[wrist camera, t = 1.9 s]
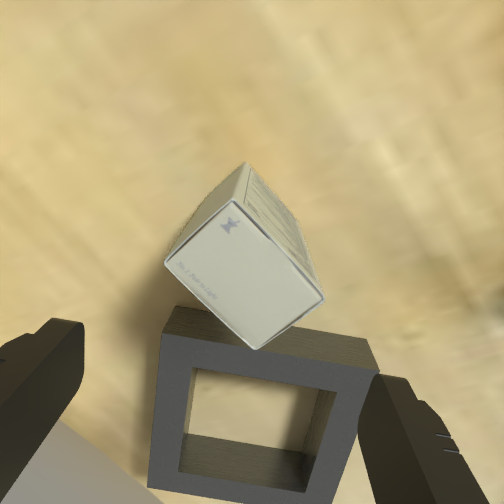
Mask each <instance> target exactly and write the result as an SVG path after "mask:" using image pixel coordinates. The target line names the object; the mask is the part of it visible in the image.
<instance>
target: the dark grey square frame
mask: <svg viewBox="0 0 504 504" xmlns="http://www.w3.org/2000/svg"><path fill="white" fill-rule="evenodd" d="M197 368H201V369H206V370H212V371H218V372H224V373H230V374H235V375H241V376H247V377H253V378H259V379H264V380H270V381H276V382H282V383H288V384H293V385H299V386H305V387H311V388H317V389H320V392H319V395H318V399H317V402H316V405H315V409H314V412H313V415H312V419H311V422H310V426H309V429H308V432H307V436H306V439H305V442H304V446H303V449H302V452H301V453H300V452H294V451H288V450H282V449H276V448H270V447H264V446H258V445H252V444H247V443H241V442H235V441H229V440H223V439H217V438H211V437H205V436H199V435H193V434H188V429H189V422H190V415H191V408H192V401H193V394H194V387H195V380H196V373H197ZM379 372H380V370H379V368H378V365H377V363H376V361H375V358H374V356H373V354H372V351H371V349H370V347H369V344H368V342H367V340H366V339H362V338H356V337H351V336H345V335H339V334H334V333H328V332H322V331H316V330H311V329H305V328H299V327H294V326H291V327H289V328H288V329H286V330H285V331H284V332H282V333H281V334H279V335H278V336H276V337H275V338H274V339H272V340H271V341H269V342H268V343H266V344H265V345H264V346H262V347H261V348H259V349H257V350H253V349H252V348H251V347H250V346H249V345H248V344H246V343H245V342H244V341H243V340H242V339H241V338H240V337H239V336H238V335H236V334H235V333H234V332H233V331H232V330H231V329H230V328H229V327H228V326H227V325H226V324H224V323H223V322H222V321H221V320H220V319H219V318H218V317H217V316H216V315H215V314H214V313H213V312H208V311H202V310H196V309H191V308H185V307H179V306H175V308H174V310H173V312H172V314H171V316H170V318H169V320H168V322H167V324H166V326H165V328H164V330H163V332H162V336H161V347H160V357H159V367H158V377H157V388H156V398H155V408H154V419H153V429H152V439H151V449H150V460H149V470H148V480H147V488H153V489H159V490H165V491H171V492H177V493H183V494H189V495H195V496H201V497H207V498H213V499H219V500H225V501H231V502H237V503H243V504H332V502H333V499H334V496H335V493H336V491H337V488H338V485H339V482H340V479H341V477H342V474H343V471H344V468H345V466H346V463H347V460H348V457H349V455H350V452H351V449H352V446H353V444H354V441H355V438H356V435H357V433H358V419H359V415H360V412H361V410H362V407H363V404H364V401H365V398H366V395H367V393H368V390H369V387H370V384H371V381H372V379H373V377H374V376H375V375H376V374H379Z"/></svg>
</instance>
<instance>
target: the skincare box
mask: <svg viewBox="0 0 504 504" xmlns="http://www.w3.org/2000/svg"><path fill="white" fill-rule="evenodd" d="M164 265H165V266H166V267H167V268H168V270H169V271H170V272H171V273H172V274H173V275H174V276H175V277H176V278H177V279H178V280H179V281H180V282H181V283H182V284H183V285H184V286H185V287H186V288H187V289H188V290H189V291H190V292H191V293H192V294H194V295H195V296H196V297H197V298H198V299H199V300H200V301H201V302H202V303H203V304H204V305H205V306H206V307H207V308H208V309H210V310H211V311H212V312H213V313H214V314H215V315H216V316H217V317H218V318H219V319H220V320H221V321H222V322H223V323H224V324H226V325H227V326H228V327H229V328H230V329H231V330H232V331H233V332H234V333H235V334H236V335H238V336H239V337H240V338H241V339H242V340H243V341H244V342H245V343H246V344H248V345H249V346H250V347H251V348H252V349H253V350H257V349H259V348H261V347H262V346H264V345H265V344H266V343H268V342H269V341H271V340H272V339H274V338H275V337H276V336H278V335H279V334H281V333H282V332H284V331H285V330H286V329H288V328H289V327H291V326H292V325H293V324H295V323H296V322H298V321H299V320H301V319H302V318H303V317H305V316H306V315H307V314H309V313H310V312H311V311H313V310H314V309H316V308H317V307H318V306H320V305H321V304H322V303H324V301H325V295H324V293H323V290H322V287H321V284H320V281H319V278H318V276H317V273H316V270H315V267H314V265H313V262H312V259H311V256H310V253H309V250H308V247H307V244H306V242H305V239H304V236H303V233H302V230H301V228H300V225H299V222H298V220H297V219H296V218H295V217H294V216H293V214H292V213H291V212H290V211H289V209H288V208H287V207H286V206H285V205H284V204H283V202H282V201H281V200H280V199H279V198H278V196H277V195H276V194H275V193H274V192H273V191H272V190H271V188H270V187H269V186H268V185H267V184H266V183H265V182H264V181H263V179H262V178H261V177H260V176H259V175H258V174H257V173H256V172H255V171H254V169H253V168H252V167H251V166H250V165H249V164H248V163H247V162H244V163H243V164H242V165H240V166H239V167H238V168H237V169H236V170H235V171H234V172H232V173H231V174H230V175H229V176H228V177H227V178H226V179H225V180H224V181H222V182H221V183H220V184H219V185H218V186H217V187H216V188H215V189H214V190H213V191H212V192H211V193H210V194H209V195H208V196H207V197H206V198H205V199H204V200H203V202H202V203H201V205H200V206H199V208H198V209H197V211H196V212H195V214H194V215H193V216H192V218H191V220H190V221H189V223H188V224H187V226H186V227H185V229H184V230H183V232H182V233H181V235H180V236H179V238H178V239H177V241H176V242H175V244H174V245H173V247H172V249H171V250H170V252H169V254H168V255H167V257H166V258H165V260H164Z"/></svg>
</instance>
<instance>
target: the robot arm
mask: <svg viewBox="0 0 504 504" xmlns="http://www.w3.org/2000/svg"><path fill="white" fill-rule="evenodd" d="M84 339H85V330H84V325H83V323H81V322H76V321H70V320H64V319H58V318H51V319H50V320H48V321H47V322H46V323H45V324H44V325H43V326H42V327H41V328H40V329H39V330H38V331H37V332H36V333H34V334H29V333H26V334H24V335H21V336H19V337H17V338H15V339H13V340H11V341H9V342H7V343H5V344H4V345H3V346H2V347H0V503H1V501H2V500H3V498H4V497H5V495H6V494H7V492H8V491H9V490H10V488H11V487H12V485H13V483H14V482H15V481H16V479H17V478H18V477H19V475H20V474H21V472H22V471H23V469H24V468H25V466H26V465H27V464H28V462H29V460H30V459H31V458H32V456H33V455H34V453H35V452H36V451H37V449H38V448H39V446H40V445H41V443H42V442H43V440H44V439H45V438H46V436H47V435H48V433H49V432H50V430H51V429H52V427H53V426H54V424H55V423H56V422H57V420H58V419H59V417H60V416H61V414H62V413H63V411H64V410H65V409H66V407H67V406H68V404H69V403H70V401H71V400H72V398H73V397H74V396H75V394H76V393H77V391H78V389H79V387H80V384H81V382H82V378H83V374H84ZM358 440H359V444H360V447H361V451H362V455H363V458H364V462H365V466H366V469H367V473H368V477H369V480H370V484H371V487H372V491H373V495H374V498H375V502H376V504H489V502H488V500H487V498H486V497H485V495H484V493H483V491H482V490H481V488H480V486H479V484H478V483H477V481H476V479H475V477H474V475H473V474H472V472H471V470H470V468H469V467H468V465H467V463H466V461H465V460H464V458H463V456H462V455H461V454H459V449H458V447H457V446H456V444H455V442H454V440H453V439H451V435H450V433H449V431H448V430H447V428H446V426H445V424H444V423H443V421H442V419H441V417H440V416H439V415H438V414H437V413H436V412H435V411H434V410H433V409H432V408H431V407H430V406H429V405H428V404H427V403H426V402H425V401H421V400H418V399H417V397H416V395H415V394H414V392H413V390H412V388H411V386H410V384H409V382H408V381H407V380H406V379H405V378H401V377H395V376H389V375H383V374H376V375H375V376H374V377H373V379H372V381H371V384H370V387H369V390H368V393H367V395H366V398H365V401H364V404H363V407H362V410H361V412H360V415H359V419H358Z"/></svg>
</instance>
